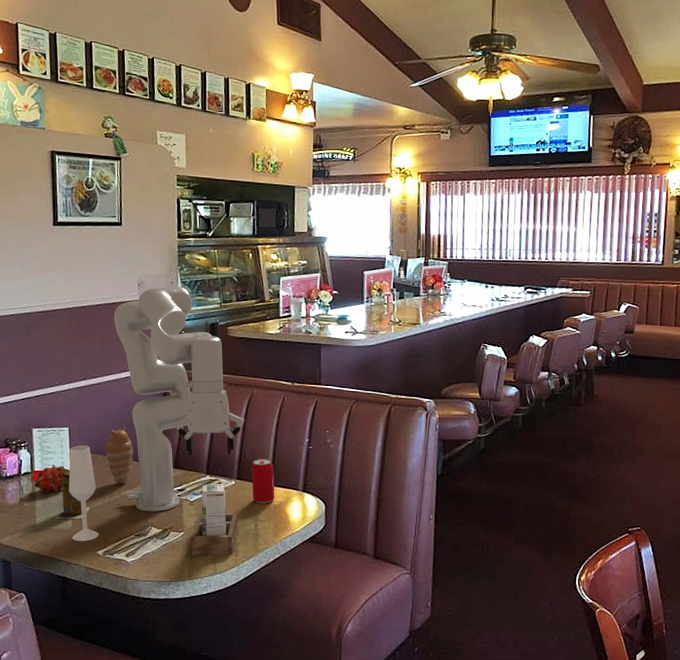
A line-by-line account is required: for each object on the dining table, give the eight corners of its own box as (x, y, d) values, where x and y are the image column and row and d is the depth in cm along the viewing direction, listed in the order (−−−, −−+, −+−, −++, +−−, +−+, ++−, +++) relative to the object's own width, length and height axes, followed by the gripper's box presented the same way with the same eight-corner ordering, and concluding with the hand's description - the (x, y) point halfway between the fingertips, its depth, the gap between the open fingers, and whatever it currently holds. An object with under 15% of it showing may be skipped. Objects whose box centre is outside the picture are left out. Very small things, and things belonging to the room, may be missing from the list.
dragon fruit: (73, 489, 250) (40, 506, 241) (57, 471, 253) (24, 487, 244) (78, 472, 245) (45, 489, 236) (62, 454, 248) (28, 469, 239)
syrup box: (203, 538, 203) (201, 484, 201) (226, 537, 204) (224, 483, 202) (203, 547, 198) (200, 492, 196) (226, 546, 199) (224, 490, 196)
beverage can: (276, 497, 236) (274, 458, 234) (272, 504, 230) (270, 464, 228) (255, 496, 236) (254, 458, 235) (251, 504, 230) (249, 464, 229)
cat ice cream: (125, 477, 257) (122, 423, 254) (140, 482, 252) (137, 427, 249) (102, 484, 250) (98, 429, 247) (117, 489, 245) (113, 433, 242)
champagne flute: (66, 539, 207) (60, 450, 204) (83, 529, 213) (77, 443, 210) (87, 542, 205) (81, 452, 202) (104, 532, 211) (98, 445, 208)
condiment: (90, 507, 230) (87, 468, 228) (82, 518, 222) (79, 477, 220) (65, 508, 230) (62, 468, 228) (55, 519, 221) (52, 478, 220)
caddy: (191, 555, 196) (190, 528, 195) (200, 530, 212) (198, 505, 211) (232, 553, 196) (231, 527, 195) (237, 529, 212) (236, 504, 211)
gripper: (170, 390, 192) (173, 458, 194) (241, 388, 192) (243, 456, 195) (175, 384, 199) (178, 449, 202) (244, 382, 200) (246, 447, 202)
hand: (210, 453), depth 198 cm, fingers open, 9 cm apart
